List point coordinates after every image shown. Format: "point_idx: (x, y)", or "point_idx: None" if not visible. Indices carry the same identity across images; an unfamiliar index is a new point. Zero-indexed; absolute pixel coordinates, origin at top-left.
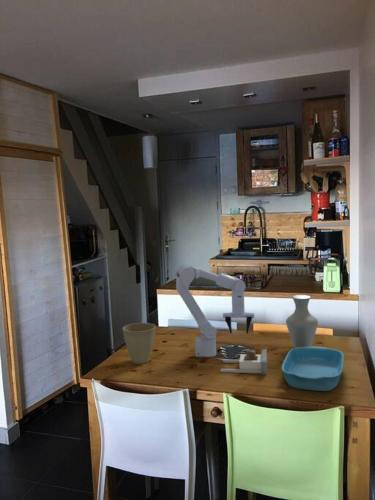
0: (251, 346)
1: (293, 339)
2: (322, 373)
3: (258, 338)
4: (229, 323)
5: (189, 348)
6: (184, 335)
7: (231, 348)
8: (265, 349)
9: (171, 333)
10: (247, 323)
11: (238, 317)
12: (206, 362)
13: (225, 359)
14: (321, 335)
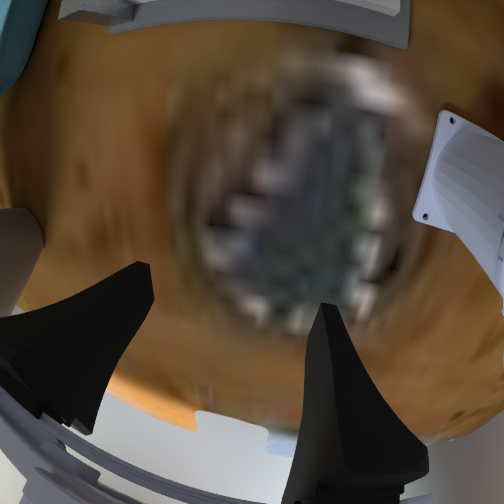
0: (196, 292)
1: (7, 233)
2: (4, 3)
3: (176, 361)
4: (353, 413)
5: (495, 309)
6: (437, 410)
7: (310, 284)
8: (63, 15)
9: (458, 417)
10: (50, 324)
11: (156, 479)
12: (486, 80)
13: (385, 4)
14: None
